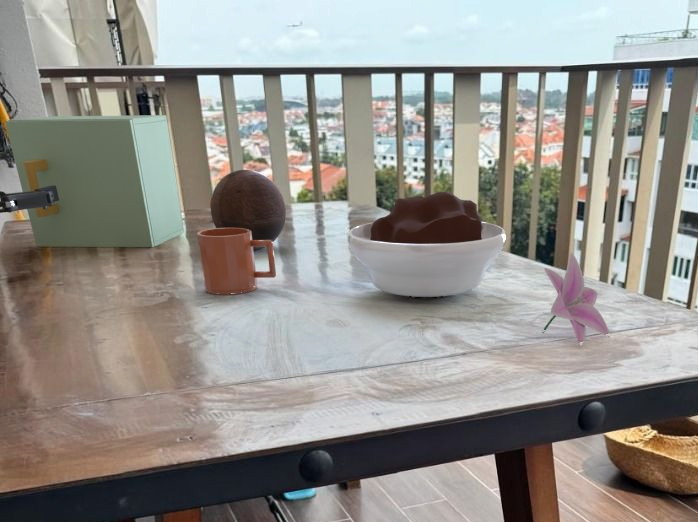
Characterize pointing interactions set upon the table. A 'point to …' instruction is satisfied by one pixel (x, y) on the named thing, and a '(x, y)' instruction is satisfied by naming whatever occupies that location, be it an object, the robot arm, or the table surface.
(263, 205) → the wooden sphere
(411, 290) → the filled white bowl
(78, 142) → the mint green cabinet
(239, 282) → the mug
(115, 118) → the cupboard
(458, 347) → the table surface
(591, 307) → the lily
